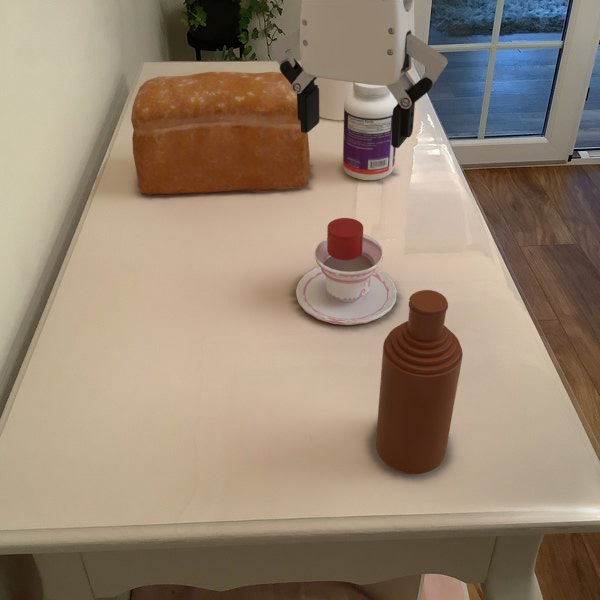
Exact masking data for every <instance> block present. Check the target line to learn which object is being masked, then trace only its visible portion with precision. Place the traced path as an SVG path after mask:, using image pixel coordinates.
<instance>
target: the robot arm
mask: <svg viewBox="0 0 600 600" xmlns="http://www.w3.org/2000/svg"><path fill="white" fill-rule="evenodd" d="M300 6H301V7H300V18H299V20H300V21H299V28H296V29H295V30H293V31H291V32H289V33H287V34H285V35H283V36H281V37H279V38H277V39H275V40H274V41H272V42H271V44H270V51H271V52H272V54H273V56H274V59H275V61H276V62H277V64H278V65H279V71H280V73H282V74H283V75H284V76H285V78H286V79H287V80H288V81H289V82H290V83H291V85H292V86H291V87H292V90H293V92H294V93H296V94H297V112H298V120H299V121H301V132H302V133H307V132H308V133H309V132H311V131H312V130H313V129H315V127H316V126H317V125H319V123H320V120H321V119H320V117H319V88H318V85H314V81H315V80H316V79H317V78H324V79H331V80H338V81H346V82H354V83H361V84H369V85H379V86H387V88H388V89H389V90H390V93H392V95H393V96H394V98H395V99H396V101H397V102H398V104H397V105H396V106H395V107H394V109H393V118H392V136H391V146H393V147H394V148H396V149H399V148H400V147H401V146H402V144H403V143H404V142H405V140H407V138H408V139H409V138H410V137H411V136H412V134H413V132H414V131H413V130H414V120H415V119H414V118H415V109H416V108H415V107H416V102H417V101H419V100H420V99H421V98H422V97H424V96H425V95H426V94H428V92H429V91H431V90H432V88H433V87H434V86H435V84H436V82H437V81H438V80H439V78H440V76H441V75H442V74H443V72H444V70H445V69H446V67H447V65H448V62H449V61H448V58H447V57H446V56H445V55H443V54H441V53H440V52H438V50H436V49H434V48H433V47H431V46H430V45H428V44H427V43H425V42H424V41H423V40H421V39H420V38H418V37H417V36H416V35H415V34H416V33H415V32H416V31H415V30H416V29H415V28H416V27H415V26H416V25H415V24H416V23H415V20H416V19H415V18H416V17H415V0H301V5H300ZM298 45H299V57H300V58H299V59H300V60H299V61H300V63H299V62H298V61H297V60H296V58H294V56H293V53H292V48H294V47H297V46H298ZM414 60H415V61H417V62H419V63H420V64H421V65H423V66H424V68H425V71H424V73H423V76H422V77H421V78H420V79H419V80H418V81H417V82H415V80H414V79H413V78H412V76H411V75H410V73H409V71H411V69H412V68H413V64H414Z"/></svg>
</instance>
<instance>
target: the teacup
mask: <svg viewBox="0 0 600 600" xmlns="http://www.w3.org/2000/svg"><path fill="white" fill-rule="evenodd" d="M314 259H315V262H316V263H317V265H318V266H317V267H315V268H313V269H311V270H310V271H308V272H306V273H305V274H304V275H303V276H302V278H301V279H300V280H299V281H297V285H296V290H295V296H296V299H297V302H298V303H297V304H298V305H299V306H300V307H301V308H302V309H303V310H304V312H305V313H307V314H308V315H310V316H312V317H313V318H315V319H317V320H319V321H322V322H326V323H330V324H333V325H344V326H345V325H346V326H353V325H361V324H368V323H370V322H372V321H375V320H378V319H381V318H382V317H383V316H385V315H386V314H388V313H389V312H390V311H392V308H393V307H394V306H395V303H396V302H397V288H396V286H395V284H394V283H395V282H394V281H393V280H392V279H391V277H389V276H388V275H387V274H386V273H385V272H383V271H381V270H379V269H378V268H379V267H380V266H381V264H382V262H383V259H384V251H383V248H382V246H381V245H380V243H379V242H378V241H377V240H376V239H375V238H373V237H371V236H370V235H367V234H365V233H363V247H362V253H361V255H360V256H359V257H357V258H355V259H352V260H338V259H335V258H333V257H331V256H330V255H329V254H328V252H327V237H326V238H324V239H323V240H321V242H320V243H318V244H317V246H316V248H315V251H314Z"/></svg>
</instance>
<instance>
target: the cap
mask: <svg viewBox="0 0 600 600" xmlns="http://www.w3.org/2000/svg"><path fill="white" fill-rule="evenodd" d="M326 227H327V229H326V231H327V232H326V233H327V235H326V236H327V237H326V238H327V252H328V254H329V255H330V256H331V257H333V258H335V259H338V260H352V259H355V258H357V257H359V256H360V255H361V253H362V247H363V234H364V225H363V223H362V222H361V221H359V220H358V219H354V218H352V217H351V218H350V217H339V218H335V219H332V220H331V221H330V222H328V224H327V226H326Z"/></svg>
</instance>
